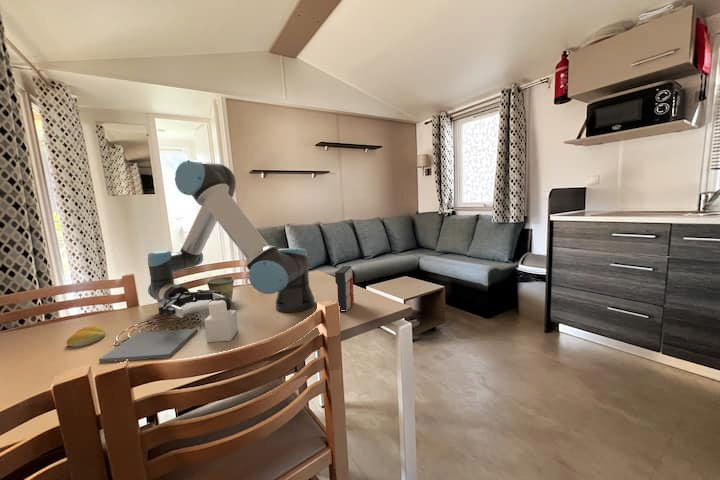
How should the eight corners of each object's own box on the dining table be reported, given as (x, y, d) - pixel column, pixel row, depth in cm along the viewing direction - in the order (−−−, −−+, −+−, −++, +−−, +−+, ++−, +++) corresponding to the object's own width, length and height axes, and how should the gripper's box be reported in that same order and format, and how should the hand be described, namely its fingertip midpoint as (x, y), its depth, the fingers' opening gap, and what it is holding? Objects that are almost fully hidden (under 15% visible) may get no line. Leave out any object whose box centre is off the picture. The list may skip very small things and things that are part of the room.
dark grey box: (348, 312, 107) (346, 272, 105) (336, 312, 108) (334, 272, 106) (354, 302, 118) (353, 265, 116) (344, 301, 118) (342, 265, 116)
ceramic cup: (229, 306, 117) (227, 282, 116) (204, 307, 117) (202, 283, 116) (242, 296, 130) (240, 274, 129) (220, 297, 130) (218, 275, 129)
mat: (197, 331, 95) (197, 328, 95) (169, 357, 79) (169, 354, 79) (139, 335, 94) (138, 332, 94) (99, 362, 78) (98, 359, 78)
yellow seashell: (62, 350, 86) (59, 337, 86) (78, 337, 95) (76, 325, 94) (96, 344, 89) (94, 332, 89) (110, 332, 97) (108, 321, 97)
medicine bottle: (215, 332, 94) (211, 296, 93) (238, 330, 95) (235, 295, 93) (206, 342, 87) (201, 304, 86) (230, 341, 88) (227, 302, 86)
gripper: (209, 295, 119) (239, 305, 106) (135, 316, 98) (162, 331, 86) (207, 277, 118) (237, 285, 105) (132, 294, 97) (159, 307, 85)
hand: (203, 306), depth 96 cm, fingers open, 13 cm apart
